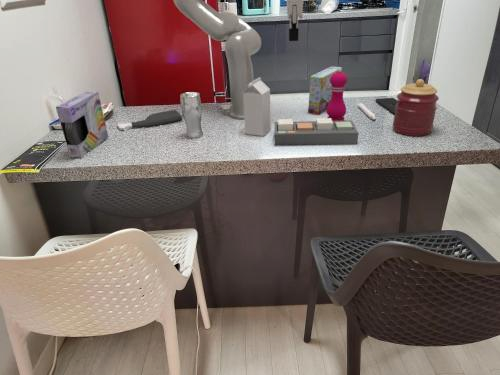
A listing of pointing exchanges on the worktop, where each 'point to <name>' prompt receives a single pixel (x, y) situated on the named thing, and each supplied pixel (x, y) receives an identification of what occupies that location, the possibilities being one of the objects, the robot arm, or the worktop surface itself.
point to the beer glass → (192, 113)
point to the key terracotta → (304, 126)
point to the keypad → (315, 136)
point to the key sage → (343, 125)
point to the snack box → (320, 90)
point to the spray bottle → (154, 120)
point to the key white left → (285, 124)
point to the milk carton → (257, 108)
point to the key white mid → (324, 124)
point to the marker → (367, 111)
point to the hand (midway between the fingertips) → (293, 40)
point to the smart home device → (388, 104)
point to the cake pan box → (82, 123)
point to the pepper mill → (337, 96)
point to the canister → (415, 109)
